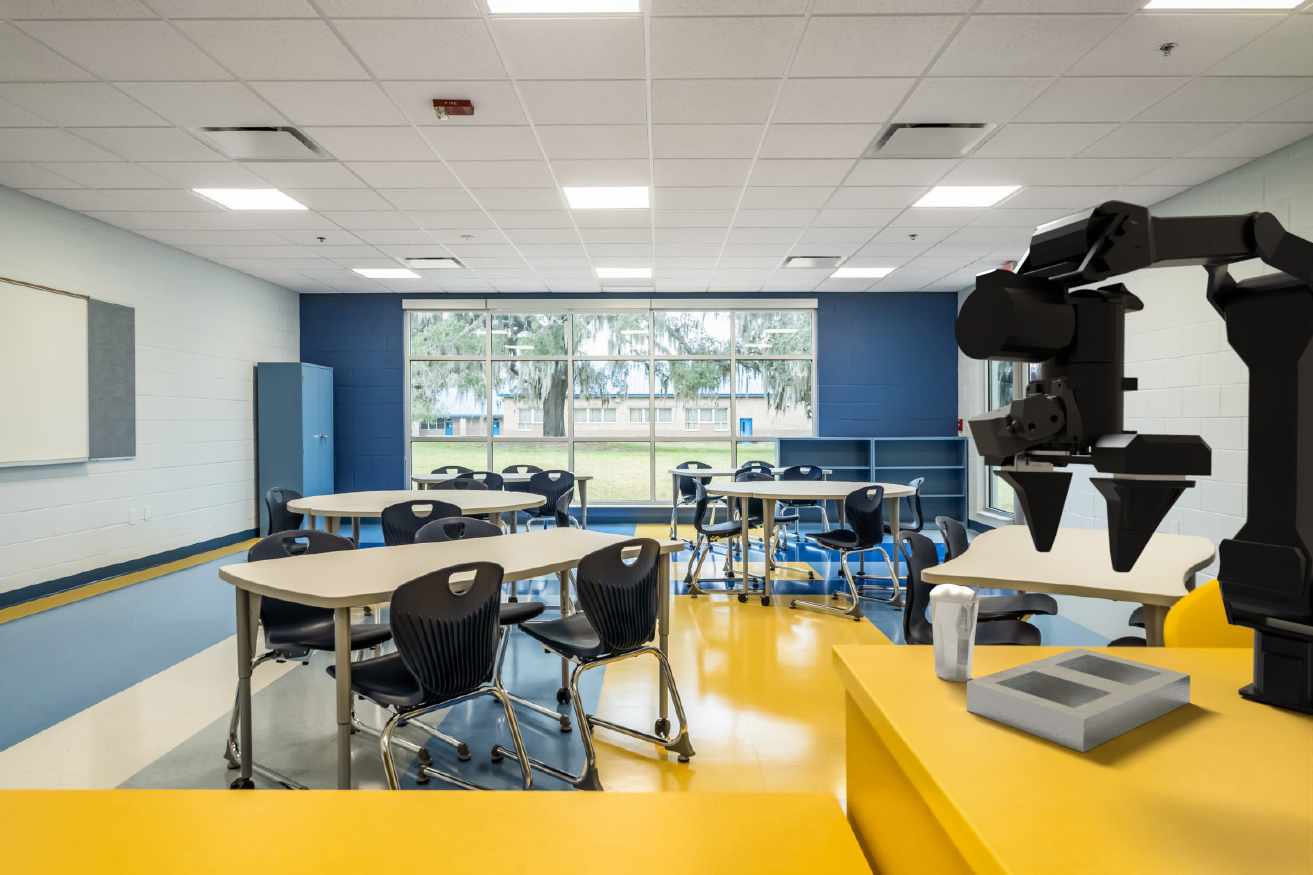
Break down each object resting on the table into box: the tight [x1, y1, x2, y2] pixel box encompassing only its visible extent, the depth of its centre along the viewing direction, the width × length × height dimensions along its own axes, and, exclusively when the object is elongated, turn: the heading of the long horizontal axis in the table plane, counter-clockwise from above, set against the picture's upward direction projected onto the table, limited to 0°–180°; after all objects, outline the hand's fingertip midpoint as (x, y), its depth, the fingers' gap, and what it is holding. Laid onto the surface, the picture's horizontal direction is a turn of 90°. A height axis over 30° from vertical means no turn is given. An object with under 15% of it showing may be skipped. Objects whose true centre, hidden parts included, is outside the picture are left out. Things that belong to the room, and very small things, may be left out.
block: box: [965, 647, 1191, 753], centre depth 61 cm, size 20×10×2 cm, turn 124°
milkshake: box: [929, 582, 983, 683], centre depth 68 cm, size 4×5×10 cm
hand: (1079, 561), depth 55 cm, fingers open, 9 cm apart
